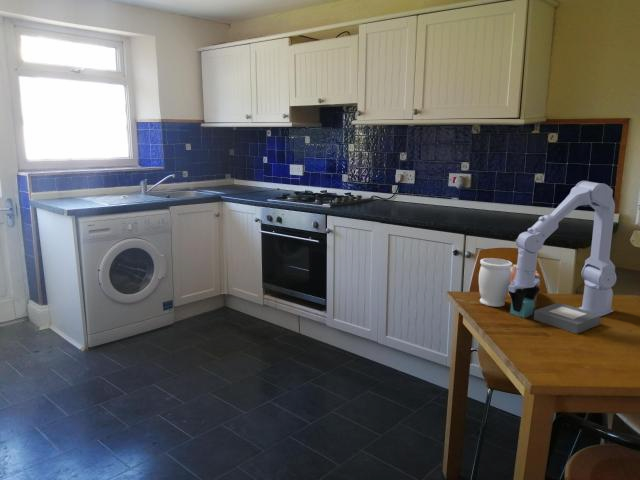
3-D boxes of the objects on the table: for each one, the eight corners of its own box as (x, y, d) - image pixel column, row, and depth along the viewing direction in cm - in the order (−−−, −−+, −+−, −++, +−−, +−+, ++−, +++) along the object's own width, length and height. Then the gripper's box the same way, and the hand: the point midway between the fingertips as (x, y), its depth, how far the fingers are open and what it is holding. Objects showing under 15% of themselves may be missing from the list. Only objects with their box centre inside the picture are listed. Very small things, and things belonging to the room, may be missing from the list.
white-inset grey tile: (557, 310, 169) (558, 302, 168) (600, 324, 158) (601, 314, 157) (533, 319, 161) (534, 310, 160) (576, 333, 150) (578, 324, 149)
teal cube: (518, 310, 169) (520, 296, 168) (532, 314, 165) (534, 300, 164) (510, 313, 166) (511, 298, 165) (523, 317, 162) (525, 303, 161)
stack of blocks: (504, 289, 192) (507, 257, 189) (521, 290, 191) (524, 258, 188) (516, 308, 171) (520, 273, 168) (536, 309, 170) (540, 274, 167)
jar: (470, 299, 179) (474, 258, 176) (496, 297, 182) (500, 257, 178) (487, 309, 169) (491, 266, 166) (514, 307, 172) (518, 264, 168)
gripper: (527, 263, 169) (523, 301, 172) (501, 269, 161) (497, 309, 164) (547, 268, 164) (542, 307, 167) (521, 275, 155) (517, 316, 158)
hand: (521, 309), depth 165 cm, fingers closed on teal cube, 5 cm apart
